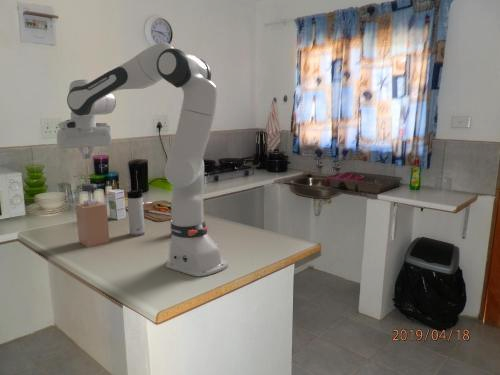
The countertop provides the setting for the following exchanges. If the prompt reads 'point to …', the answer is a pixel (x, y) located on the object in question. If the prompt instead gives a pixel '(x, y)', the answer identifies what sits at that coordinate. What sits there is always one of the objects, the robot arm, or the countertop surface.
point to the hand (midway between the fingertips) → (86, 158)
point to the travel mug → (136, 212)
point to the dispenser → (92, 223)
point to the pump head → (89, 189)
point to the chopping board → (157, 211)
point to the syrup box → (117, 204)
